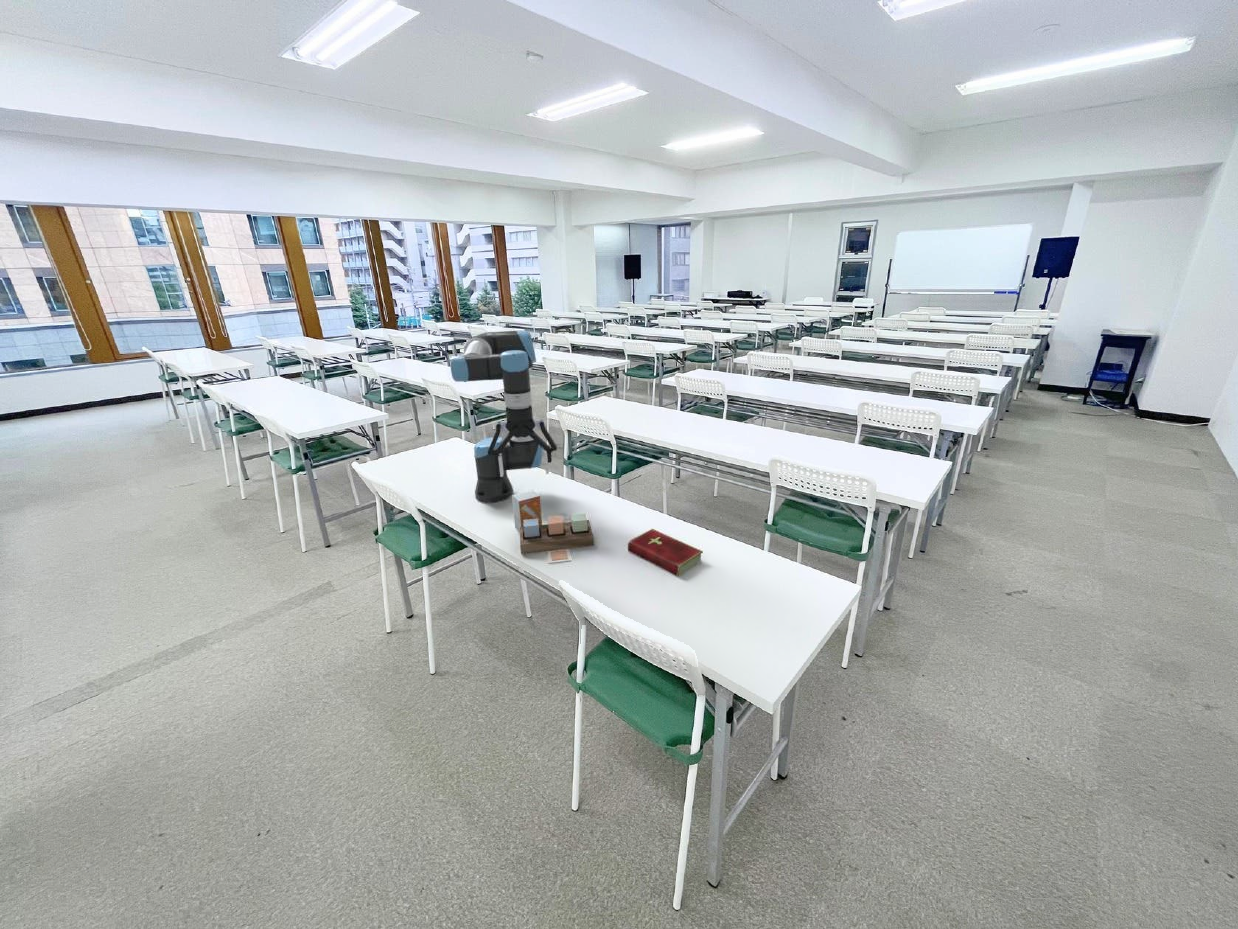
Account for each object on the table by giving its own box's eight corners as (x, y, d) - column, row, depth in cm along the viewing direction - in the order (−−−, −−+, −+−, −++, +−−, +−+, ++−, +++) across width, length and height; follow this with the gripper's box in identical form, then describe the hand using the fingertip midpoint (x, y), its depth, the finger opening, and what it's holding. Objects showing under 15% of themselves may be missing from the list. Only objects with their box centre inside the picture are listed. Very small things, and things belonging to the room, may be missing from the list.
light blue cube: (524, 532, 167) (523, 519, 165) (538, 531, 168) (537, 518, 166) (524, 539, 163) (523, 526, 161) (539, 538, 164) (538, 525, 162)
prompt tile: (547, 552, 161) (547, 550, 161) (568, 549, 163) (568, 548, 162) (548, 563, 155) (548, 562, 155) (571, 561, 156) (571, 559, 156)
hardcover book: (678, 578, 148) (678, 566, 146) (627, 552, 162) (627, 541, 160) (702, 562, 155) (703, 550, 154) (652, 538, 169) (652, 527, 168)
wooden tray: (520, 536, 171) (519, 527, 170) (589, 528, 176) (588, 519, 174) (521, 554, 160) (520, 544, 159) (594, 545, 165) (593, 536, 163)
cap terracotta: (548, 530, 169) (547, 517, 167) (562, 528, 169) (561, 515, 168) (549, 537, 164) (548, 524, 162) (563, 535, 165) (563, 522, 163)
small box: (521, 535, 172) (518, 501, 167) (514, 527, 177) (511, 494, 172) (543, 528, 176) (540, 495, 171) (535, 521, 181) (532, 489, 176)
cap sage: (571, 527, 170) (571, 514, 168) (585, 526, 171) (585, 513, 169) (573, 534, 166) (572, 521, 164) (587, 532, 166) (587, 519, 165)
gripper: (472, 411, 138) (481, 481, 146) (562, 407, 141) (566, 475, 149) (475, 404, 145) (484, 471, 153) (561, 400, 148) (565, 466, 156)
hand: (524, 473), depth 151 cm, fingers open, 13 cm apart
